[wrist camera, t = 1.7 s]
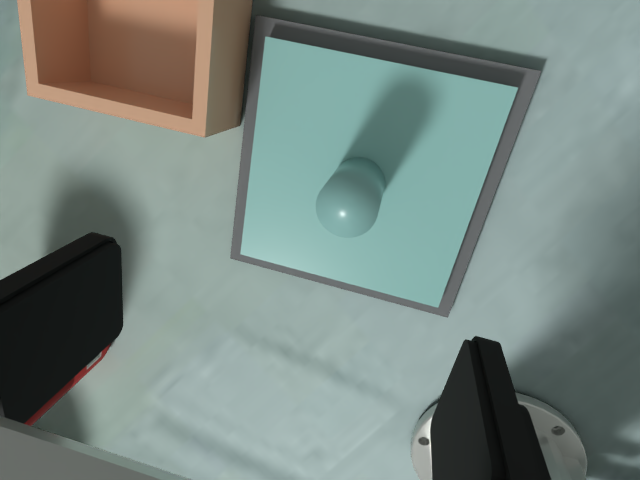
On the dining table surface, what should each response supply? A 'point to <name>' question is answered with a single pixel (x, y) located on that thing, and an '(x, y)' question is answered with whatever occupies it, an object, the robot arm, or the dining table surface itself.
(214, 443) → the dining table surface
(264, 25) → the mat
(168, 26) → the pink storage bin
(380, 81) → the lid
